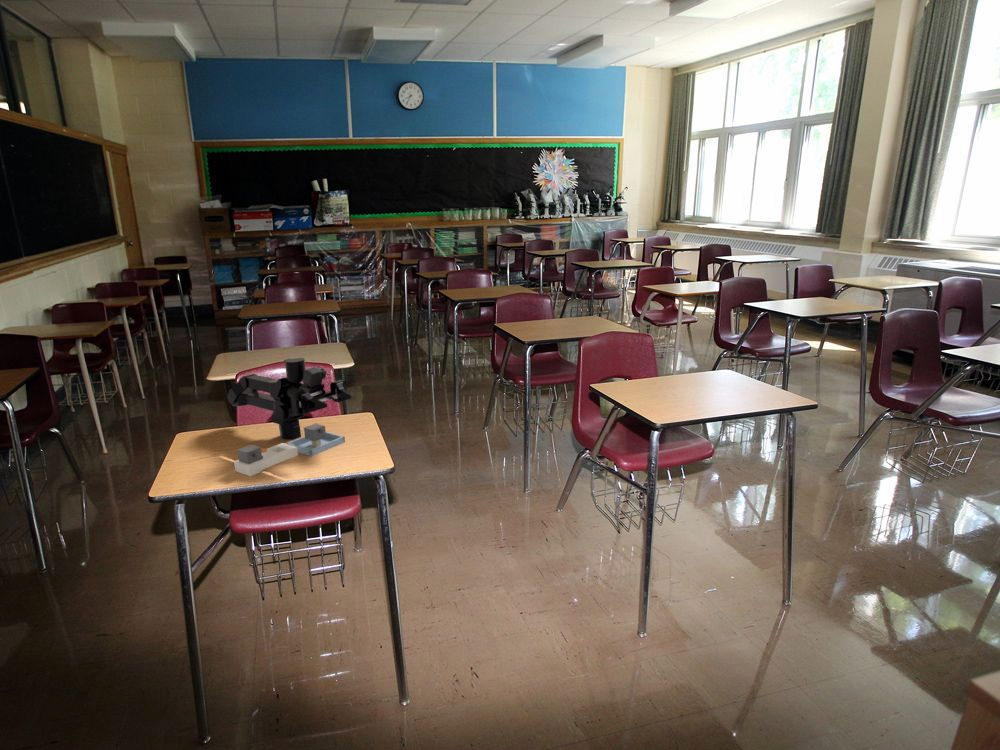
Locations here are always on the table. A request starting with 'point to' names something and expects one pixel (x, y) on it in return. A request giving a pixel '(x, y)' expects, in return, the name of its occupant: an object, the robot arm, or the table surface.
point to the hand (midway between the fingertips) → (339, 401)
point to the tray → (326, 443)
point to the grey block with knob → (315, 434)
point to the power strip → (262, 457)
